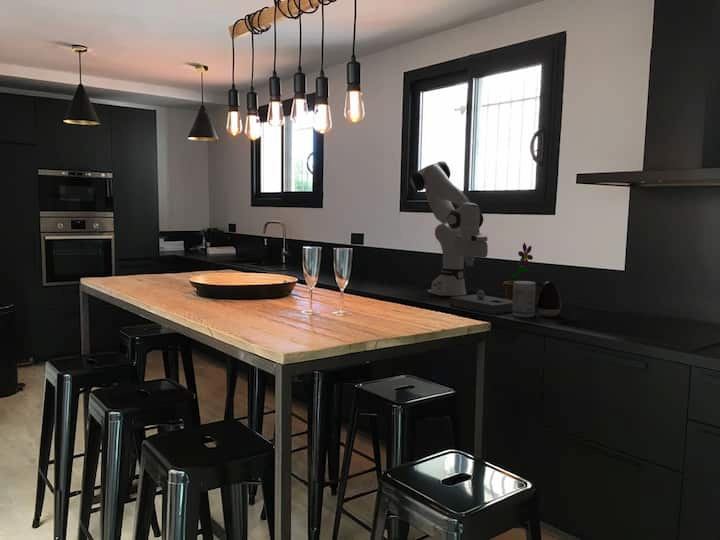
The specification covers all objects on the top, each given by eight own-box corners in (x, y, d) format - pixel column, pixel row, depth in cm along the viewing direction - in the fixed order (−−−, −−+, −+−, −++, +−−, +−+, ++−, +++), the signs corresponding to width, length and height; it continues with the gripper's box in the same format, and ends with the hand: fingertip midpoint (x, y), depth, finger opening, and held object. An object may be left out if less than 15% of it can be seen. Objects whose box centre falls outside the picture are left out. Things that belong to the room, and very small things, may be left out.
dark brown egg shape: (536, 313, 262) (537, 279, 261) (560, 314, 259) (562, 280, 257) (535, 317, 253) (536, 282, 251) (561, 318, 249) (562, 283, 248)
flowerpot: (521, 306, 278) (523, 243, 275) (496, 303, 289) (497, 242, 286) (538, 303, 288) (540, 242, 285) (513, 300, 298) (514, 241, 295)
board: (450, 305, 282) (450, 297, 281) (477, 302, 292) (477, 294, 291) (493, 314, 258) (493, 305, 258) (521, 310, 268) (521, 301, 268)
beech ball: (474, 298, 278) (474, 290, 277) (480, 297, 280) (480, 289, 279) (480, 299, 274) (480, 291, 274) (486, 298, 276) (487, 290, 276)
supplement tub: (515, 312, 262) (516, 280, 261) (537, 314, 258) (538, 281, 256) (509, 316, 254) (510, 282, 252) (531, 318, 249) (532, 284, 248)
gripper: (450, 236, 288) (449, 264, 289) (480, 237, 271) (479, 267, 272) (460, 235, 291) (459, 263, 292) (490, 237, 274) (489, 267, 275)
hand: (469, 265), depth 282 cm, fingers closed
